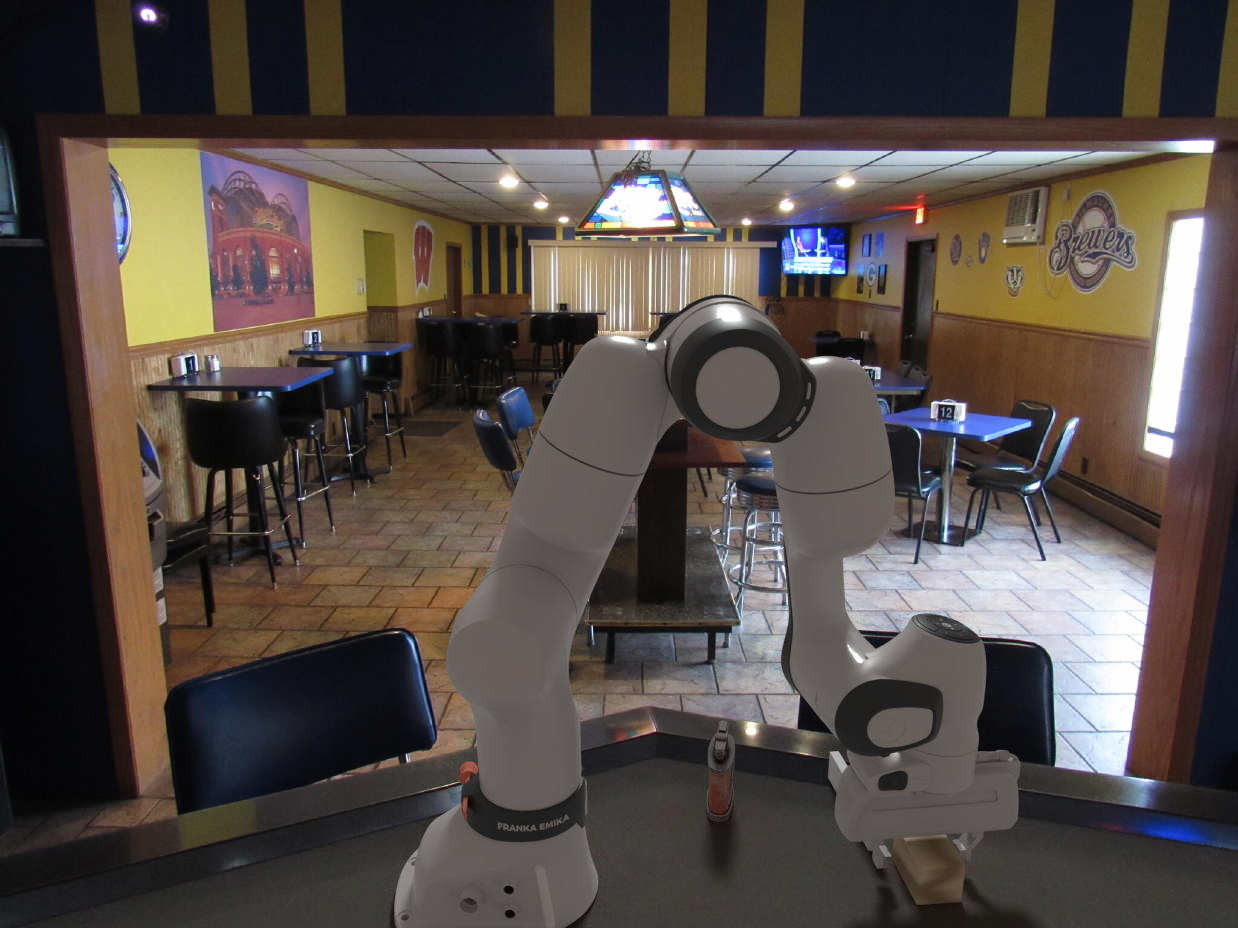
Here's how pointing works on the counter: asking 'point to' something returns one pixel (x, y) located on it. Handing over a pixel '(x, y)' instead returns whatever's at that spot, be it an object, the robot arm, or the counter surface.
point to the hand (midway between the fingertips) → (920, 860)
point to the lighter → (720, 774)
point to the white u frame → (834, 774)
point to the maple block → (930, 868)
